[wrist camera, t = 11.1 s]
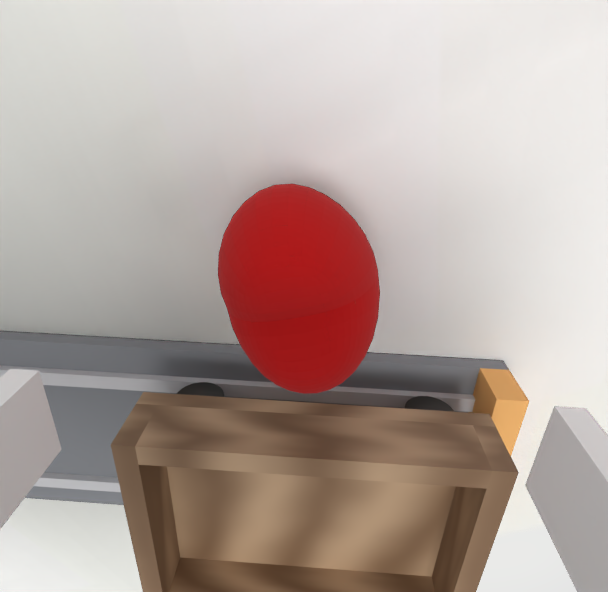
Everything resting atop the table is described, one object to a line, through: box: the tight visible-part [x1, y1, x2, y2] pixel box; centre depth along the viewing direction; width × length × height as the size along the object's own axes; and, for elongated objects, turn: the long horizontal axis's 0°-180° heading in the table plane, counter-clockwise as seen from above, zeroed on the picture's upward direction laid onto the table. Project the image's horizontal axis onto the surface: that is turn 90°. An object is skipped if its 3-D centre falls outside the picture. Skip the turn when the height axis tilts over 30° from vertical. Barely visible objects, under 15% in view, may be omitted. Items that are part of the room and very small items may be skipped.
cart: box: [111, 382, 518, 592], centre depth 26 cm, size 19×14×7 cm
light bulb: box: [218, 184, 380, 394], centre depth 20 cm, size 9×7×10 cm
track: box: [0, 331, 529, 505], centre depth 30 cm, size 35×15×4 cm, turn 88°
